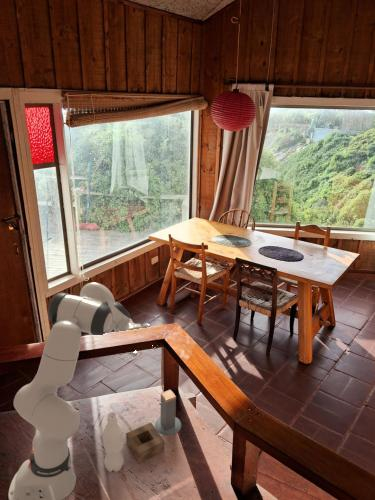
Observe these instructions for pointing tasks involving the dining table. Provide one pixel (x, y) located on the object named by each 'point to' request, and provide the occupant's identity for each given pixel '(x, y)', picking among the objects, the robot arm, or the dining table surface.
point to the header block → (145, 442)
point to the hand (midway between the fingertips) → (145, 351)
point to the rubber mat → (170, 431)
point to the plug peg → (168, 409)
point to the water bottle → (113, 443)
